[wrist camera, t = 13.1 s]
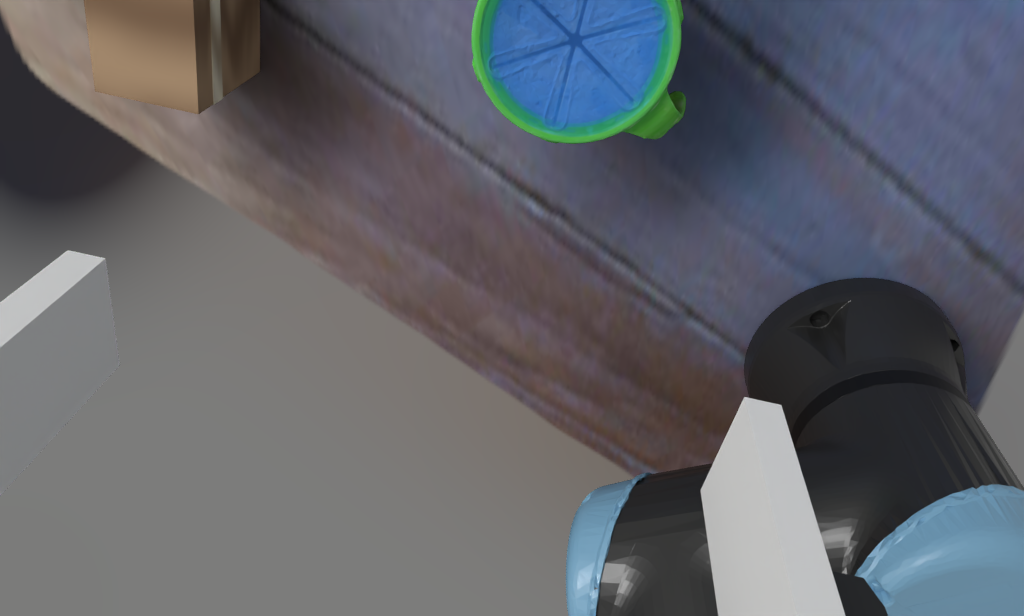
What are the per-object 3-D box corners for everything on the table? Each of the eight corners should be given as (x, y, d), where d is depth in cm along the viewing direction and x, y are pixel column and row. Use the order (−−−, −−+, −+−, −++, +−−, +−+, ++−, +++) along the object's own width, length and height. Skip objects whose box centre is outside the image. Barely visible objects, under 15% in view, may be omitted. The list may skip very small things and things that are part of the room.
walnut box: (260, 72, 50) (199, 115, 42) (171, 52, 50) (94, 92, 42) (260, -77, 45) (191, -58, 38) (161, -99, 45) (72, -85, 37)
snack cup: (726, 48, 46) (753, 97, 38) (591, 151, 51) (588, 215, 42) (566, -178, 41) (556, -180, 32) (431, -40, 45) (391, -11, 37)
